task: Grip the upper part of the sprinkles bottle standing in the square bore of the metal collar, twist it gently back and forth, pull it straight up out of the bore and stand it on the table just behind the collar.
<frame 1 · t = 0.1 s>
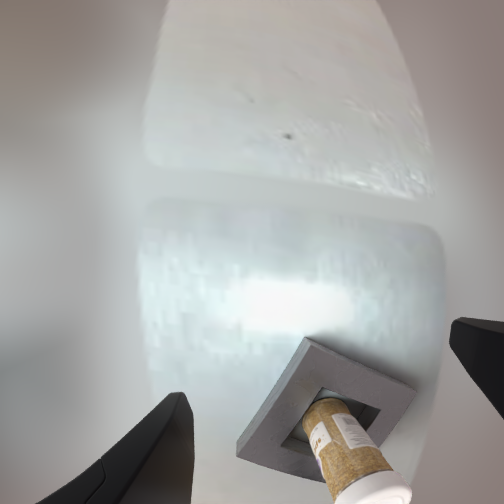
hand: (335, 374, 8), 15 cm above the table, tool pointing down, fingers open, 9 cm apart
sprinkles bottle: (324, 415, 23), resting in metal collar
metal collar: (325, 417, 23), on the table
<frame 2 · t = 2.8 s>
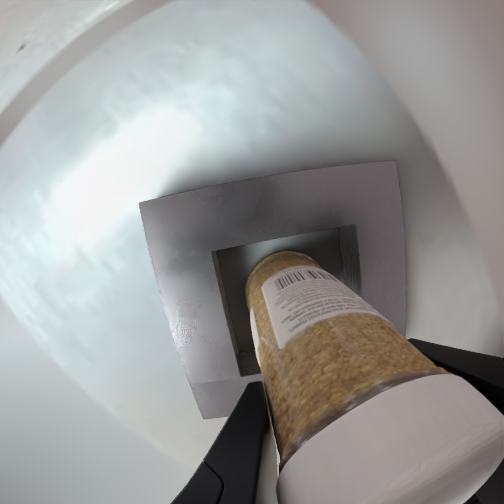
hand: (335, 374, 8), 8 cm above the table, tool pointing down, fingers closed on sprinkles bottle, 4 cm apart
sprinkles bottle: (286, 288, 16), resting in metal collar, touching gripper
metal collar: (287, 289, 16), on the table
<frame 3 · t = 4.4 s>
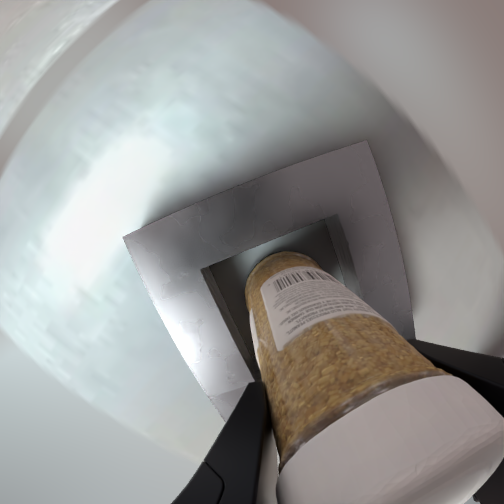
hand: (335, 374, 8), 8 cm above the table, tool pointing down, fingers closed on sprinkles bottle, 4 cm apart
sprinkles bottle: (285, 289, 16), resting in metal collar, touching gripper
metal collar: (285, 289, 16), on the table
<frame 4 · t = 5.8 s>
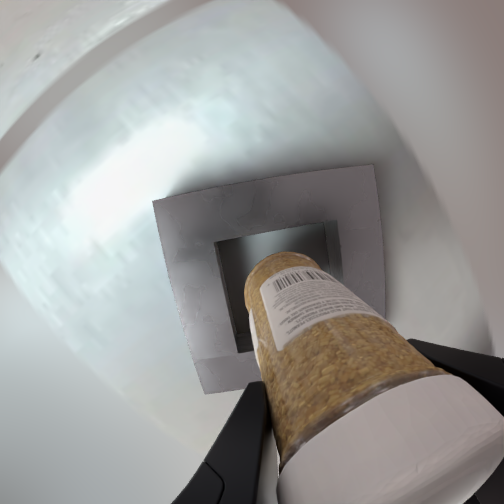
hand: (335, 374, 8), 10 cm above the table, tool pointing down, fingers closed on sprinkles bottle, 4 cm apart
sprinkles bottle: (285, 289, 16), point 2 cm above the table, touching gripper
metal collar: (279, 277, 18), on the table
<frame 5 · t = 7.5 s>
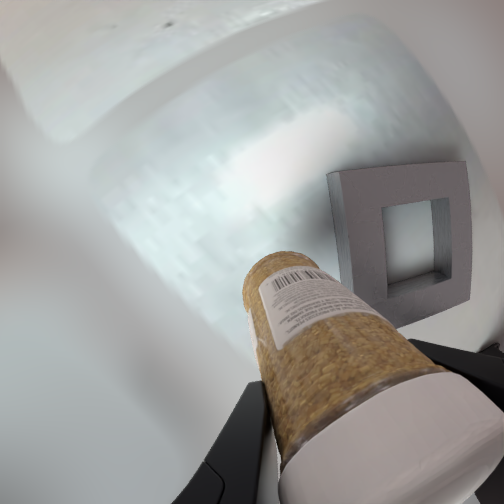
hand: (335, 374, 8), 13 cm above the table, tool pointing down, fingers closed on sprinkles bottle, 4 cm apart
sprinkles bottle: (283, 288, 16), point 5 cm above the table, touching gripper
metal collar: (404, 241, 21), on the table
when the fingers open (9 cm above the table, at t = 8.7 s): sprinkles bottle stays where it is, on the table.
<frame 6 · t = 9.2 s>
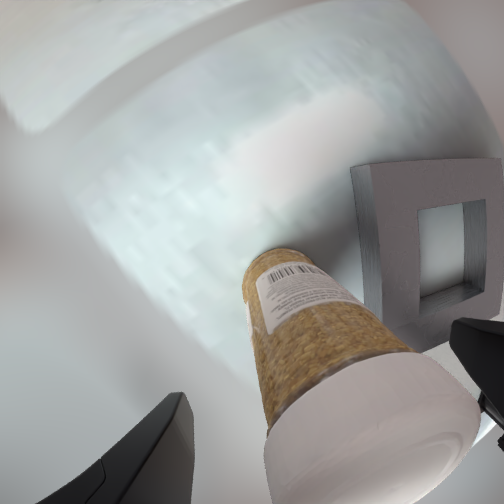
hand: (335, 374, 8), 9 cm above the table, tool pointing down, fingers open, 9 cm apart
sprinkles bottle: (281, 284, 17), on the table
metal collar: (434, 249, 17), on the table
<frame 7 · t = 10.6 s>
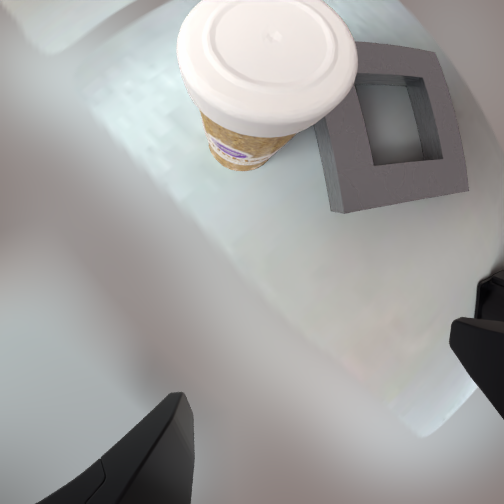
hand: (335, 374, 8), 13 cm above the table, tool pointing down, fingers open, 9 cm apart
sprinkles bottle: (242, 139, 18), on the table
metal collar: (385, 123, 19), on the table
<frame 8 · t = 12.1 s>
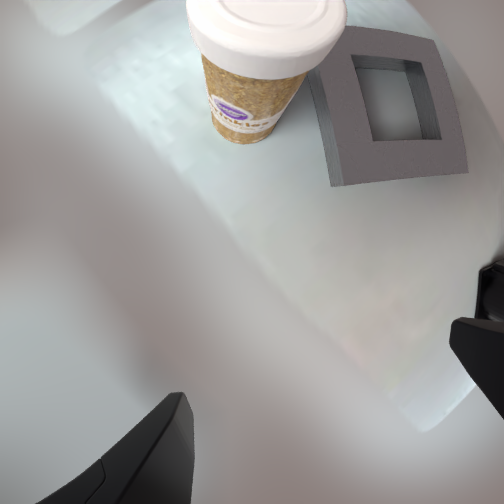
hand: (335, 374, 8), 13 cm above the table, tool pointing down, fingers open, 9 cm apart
sprinkles bottle: (245, 115, 18), on the table
metal collar: (384, 104, 19), on the table
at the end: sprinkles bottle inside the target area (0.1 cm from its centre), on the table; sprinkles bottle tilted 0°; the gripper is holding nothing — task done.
